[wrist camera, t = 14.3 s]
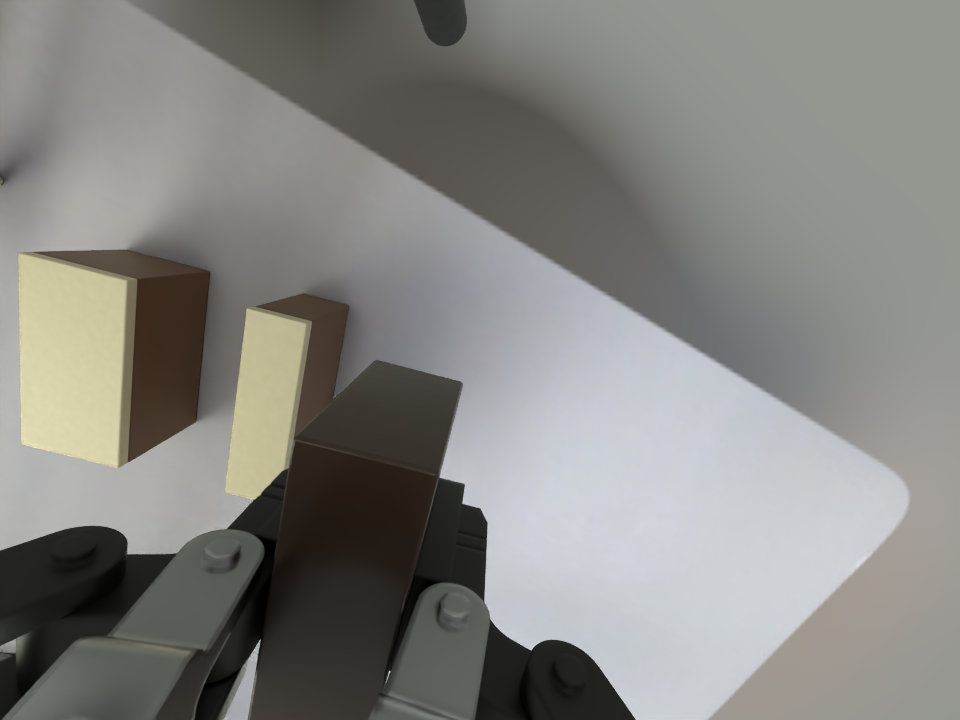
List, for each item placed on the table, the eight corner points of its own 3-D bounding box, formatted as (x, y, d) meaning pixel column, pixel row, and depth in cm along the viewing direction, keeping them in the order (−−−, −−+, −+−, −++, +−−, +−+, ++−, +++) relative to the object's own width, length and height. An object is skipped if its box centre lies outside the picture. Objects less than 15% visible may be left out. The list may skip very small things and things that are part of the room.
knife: (375, 358, 11) (291, 435, 7) (463, 381, 11) (439, 473, 7) (282, 813, 15) (193, 1049, 11) (347, 828, 15) (285, 1069, 11)
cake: (125, 249, 24) (17, 251, 19) (210, 271, 24) (127, 280, 19) (118, 403, 26) (20, 445, 21) (196, 422, 27) (118, 469, 21)
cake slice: (302, 293, 24) (246, 307, 19) (349, 305, 24) (307, 323, 19) (279, 441, 27) (224, 492, 21) (323, 452, 27) (278, 506, 21)
